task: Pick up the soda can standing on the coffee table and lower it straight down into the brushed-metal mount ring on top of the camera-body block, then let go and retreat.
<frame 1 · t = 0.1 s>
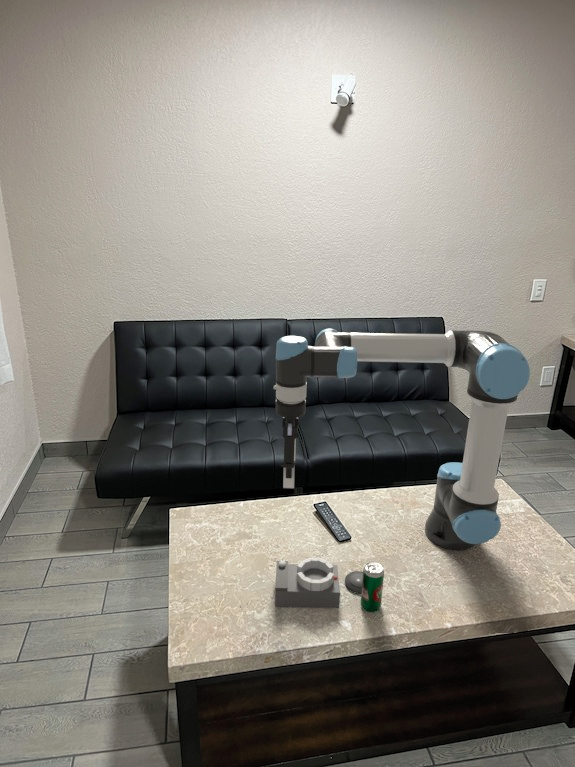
hand: (289, 473, 140), 28 cm above the table, fingers open, 13 cm apart
lens cap: (359, 583, 142), on the table
camera body: (306, 593, 139), on the table
soda can: (370, 606, 135), on the table
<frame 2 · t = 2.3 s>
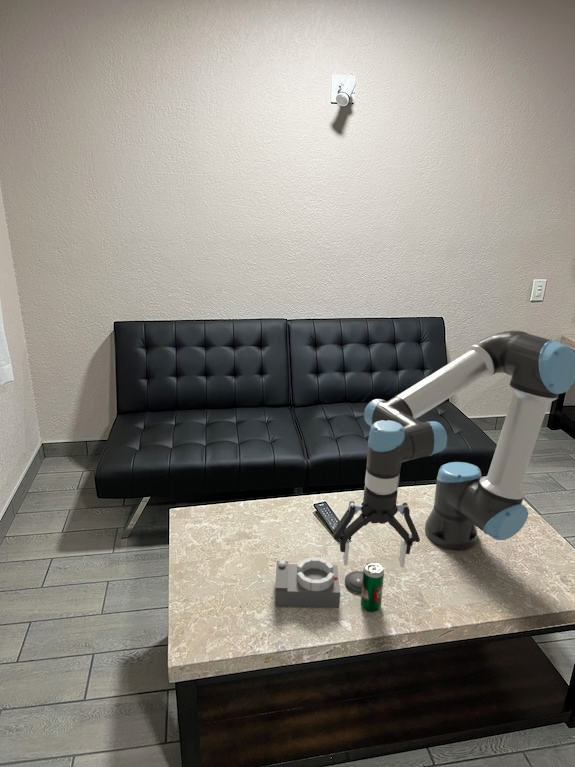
hand: (373, 562, 130), 14 cm above the table, fingers open, 13 cm apart
nothing on the table moved.
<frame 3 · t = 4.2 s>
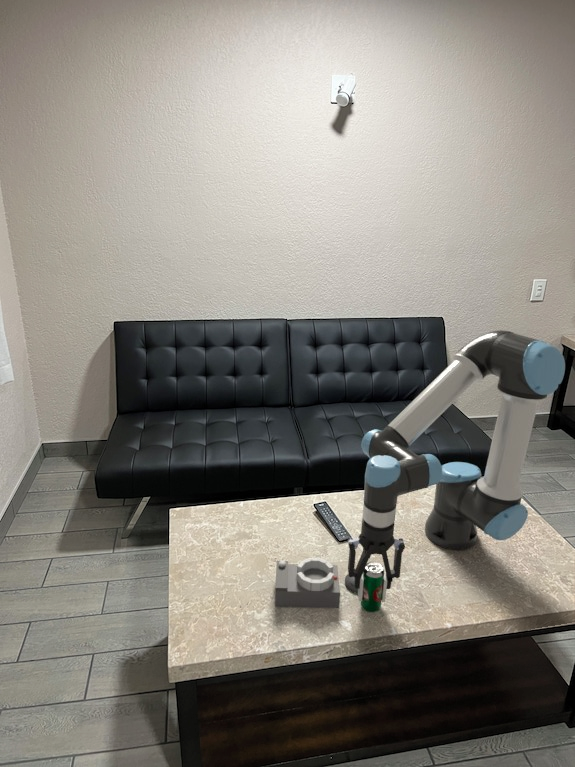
hand: (371, 597, 134), 3 cm above the table, fingers closed on soda can, 5 cm apart
soda can: (370, 606, 135), on the table, touching gripper
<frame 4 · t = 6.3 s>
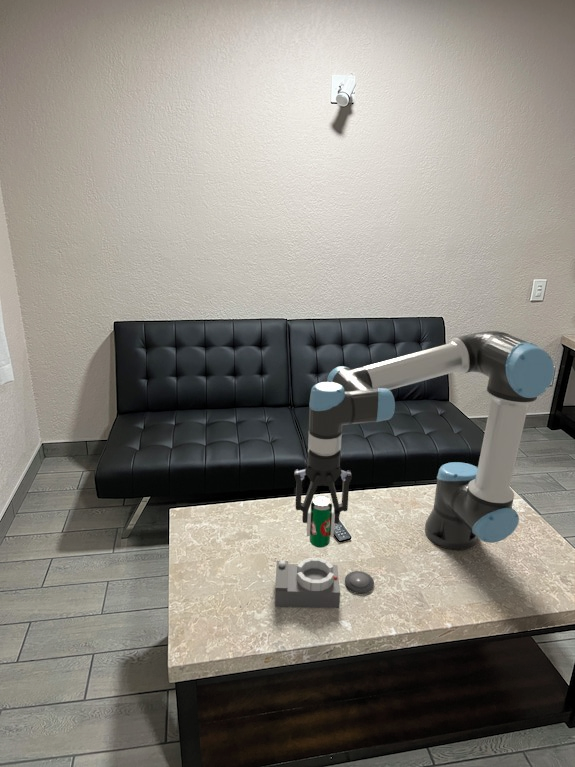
hand: (319, 532, 131), 19 cm above the table, fingers closed on soda can, 5 cm apart
soda can: (319, 543, 132), point 16 cm above the table, touching gripper
when the fingers open (9 cm above the table, at t = 8.4 s): soda can drops 1 cm, resting on camera body.
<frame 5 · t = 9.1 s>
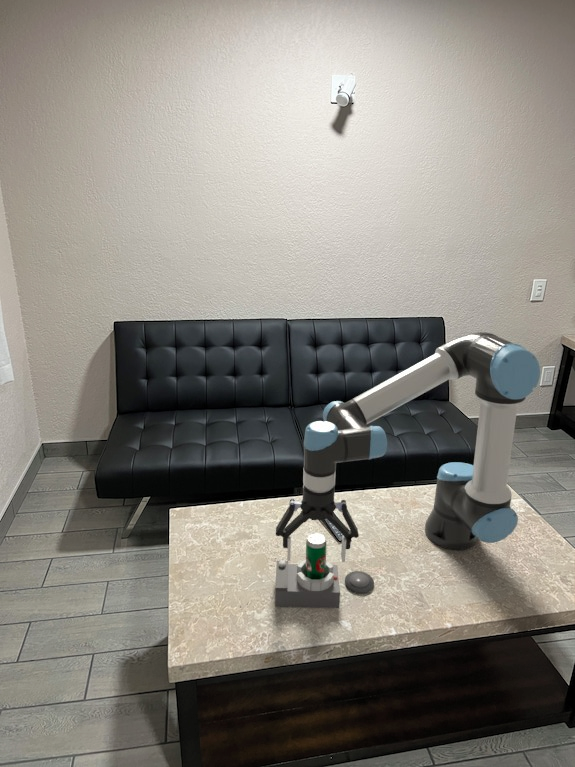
hand: (315, 558, 135), 11 cm above the table, fingers open, 13 cm apart
soda can: (315, 578, 137), point 5 cm above the table, touching camera body
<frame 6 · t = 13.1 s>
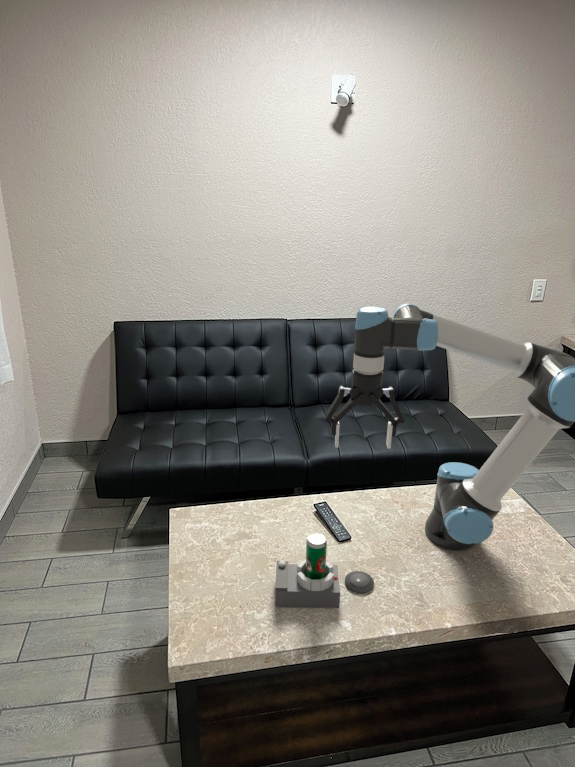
hand: (362, 445, 141), 35 cm above the table, fingers open, 13 cm apart
nothing on the table moved.
at the end: soda can 0.1 cm from the target spot on the camera body, point 4.8 cm above the camera body's base; soda can tilted 0°; the gripper is holding nothing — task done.
